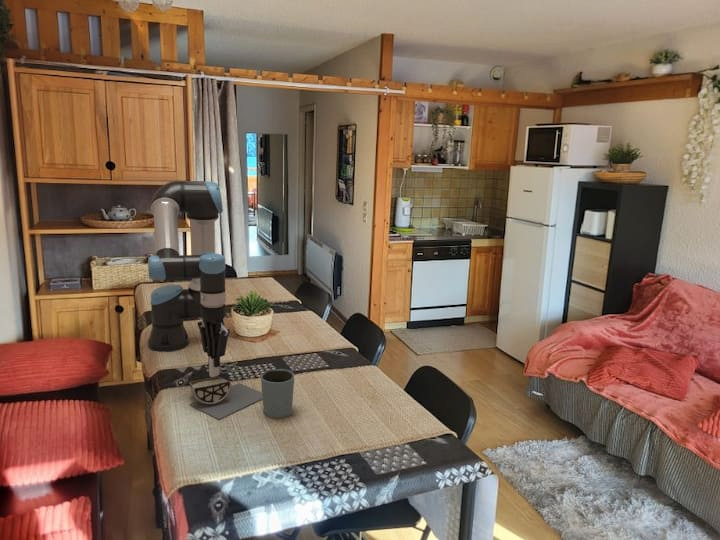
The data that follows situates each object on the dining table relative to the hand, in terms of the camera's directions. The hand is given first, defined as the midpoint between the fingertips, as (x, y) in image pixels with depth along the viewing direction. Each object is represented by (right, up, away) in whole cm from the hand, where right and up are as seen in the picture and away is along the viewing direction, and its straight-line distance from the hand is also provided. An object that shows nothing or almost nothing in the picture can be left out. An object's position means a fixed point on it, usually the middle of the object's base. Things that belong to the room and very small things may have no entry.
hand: (214, 375), depth 170 cm
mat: (+5, -8, -1) cm, 9 cm away
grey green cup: (+21, -10, -6) cm, 24 cm away
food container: (-4, -5, +3) cm, 7 cm away
